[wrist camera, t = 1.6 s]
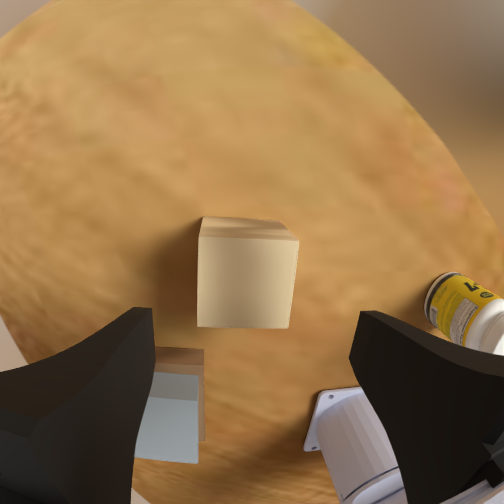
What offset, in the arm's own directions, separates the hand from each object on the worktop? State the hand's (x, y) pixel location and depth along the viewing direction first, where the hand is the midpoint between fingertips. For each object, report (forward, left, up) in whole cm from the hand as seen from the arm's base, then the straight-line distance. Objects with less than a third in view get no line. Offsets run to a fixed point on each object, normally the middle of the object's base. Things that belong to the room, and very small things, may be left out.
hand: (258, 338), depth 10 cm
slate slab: (+6, +11, -8) cm, 15 cm away
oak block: (0, 0, -10) cm, 10 cm away
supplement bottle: (-17, +3, -10) cm, 20 cm away
